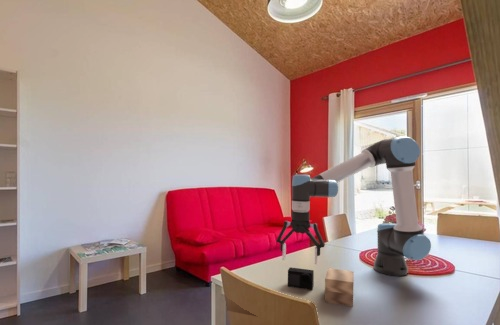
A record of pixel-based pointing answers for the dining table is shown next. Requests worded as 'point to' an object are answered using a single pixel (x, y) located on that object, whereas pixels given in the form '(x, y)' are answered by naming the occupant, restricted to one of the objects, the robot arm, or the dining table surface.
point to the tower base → (339, 298)
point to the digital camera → (301, 278)
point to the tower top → (339, 281)
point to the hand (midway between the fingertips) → (299, 261)
